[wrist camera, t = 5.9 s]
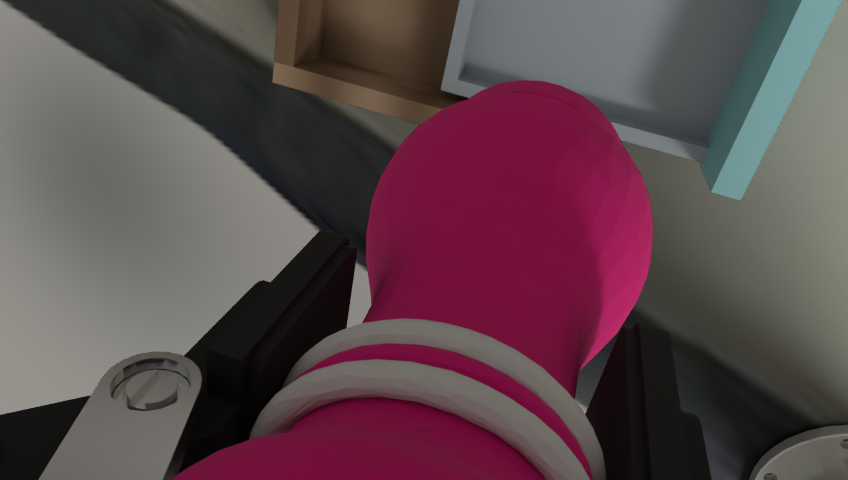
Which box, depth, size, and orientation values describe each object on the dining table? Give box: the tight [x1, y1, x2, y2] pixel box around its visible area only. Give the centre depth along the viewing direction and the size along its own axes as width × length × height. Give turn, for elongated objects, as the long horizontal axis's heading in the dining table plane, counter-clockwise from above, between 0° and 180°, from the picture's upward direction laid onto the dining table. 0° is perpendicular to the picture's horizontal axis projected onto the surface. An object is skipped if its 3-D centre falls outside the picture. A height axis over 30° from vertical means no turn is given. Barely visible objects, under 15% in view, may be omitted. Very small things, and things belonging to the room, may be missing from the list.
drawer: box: [441, 0, 842, 201], centre depth 30 cm, size 16×13×6 cm
